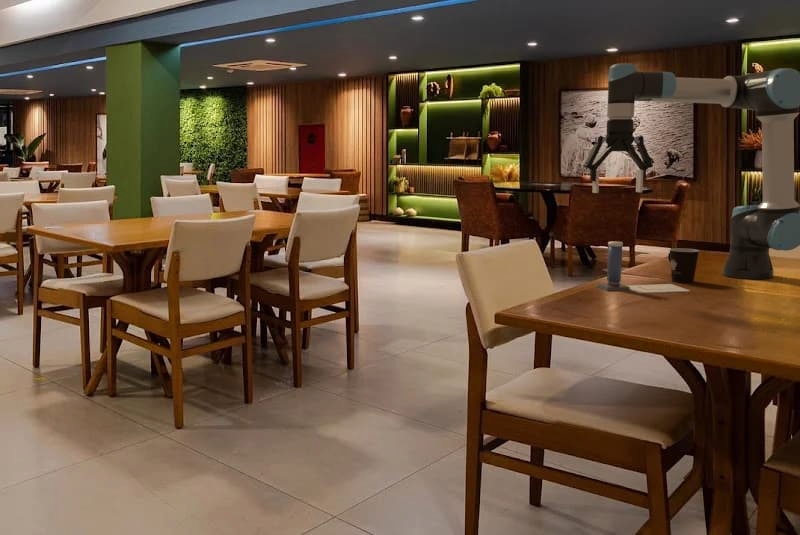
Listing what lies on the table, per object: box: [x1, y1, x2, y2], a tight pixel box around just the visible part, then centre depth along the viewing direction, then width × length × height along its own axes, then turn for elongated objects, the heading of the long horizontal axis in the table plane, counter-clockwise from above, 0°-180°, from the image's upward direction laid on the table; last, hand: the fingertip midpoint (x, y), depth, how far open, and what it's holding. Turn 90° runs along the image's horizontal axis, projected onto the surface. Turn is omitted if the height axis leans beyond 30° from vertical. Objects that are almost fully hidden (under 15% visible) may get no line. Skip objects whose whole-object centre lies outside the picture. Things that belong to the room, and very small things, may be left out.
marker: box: [606, 240, 624, 286], centre depth 226 cm, size 4×4×13 cm
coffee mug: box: [667, 247, 700, 284], centre depth 240 cm, size 12×9×10 cm
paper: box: [627, 283, 691, 294], centre depth 226 cm, size 16×11×1 cm
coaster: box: [597, 282, 631, 292], centre depth 227 cm, size 7×7×1 cm
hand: (617, 192), depth 223 cm, fingers open, 13 cm apart
